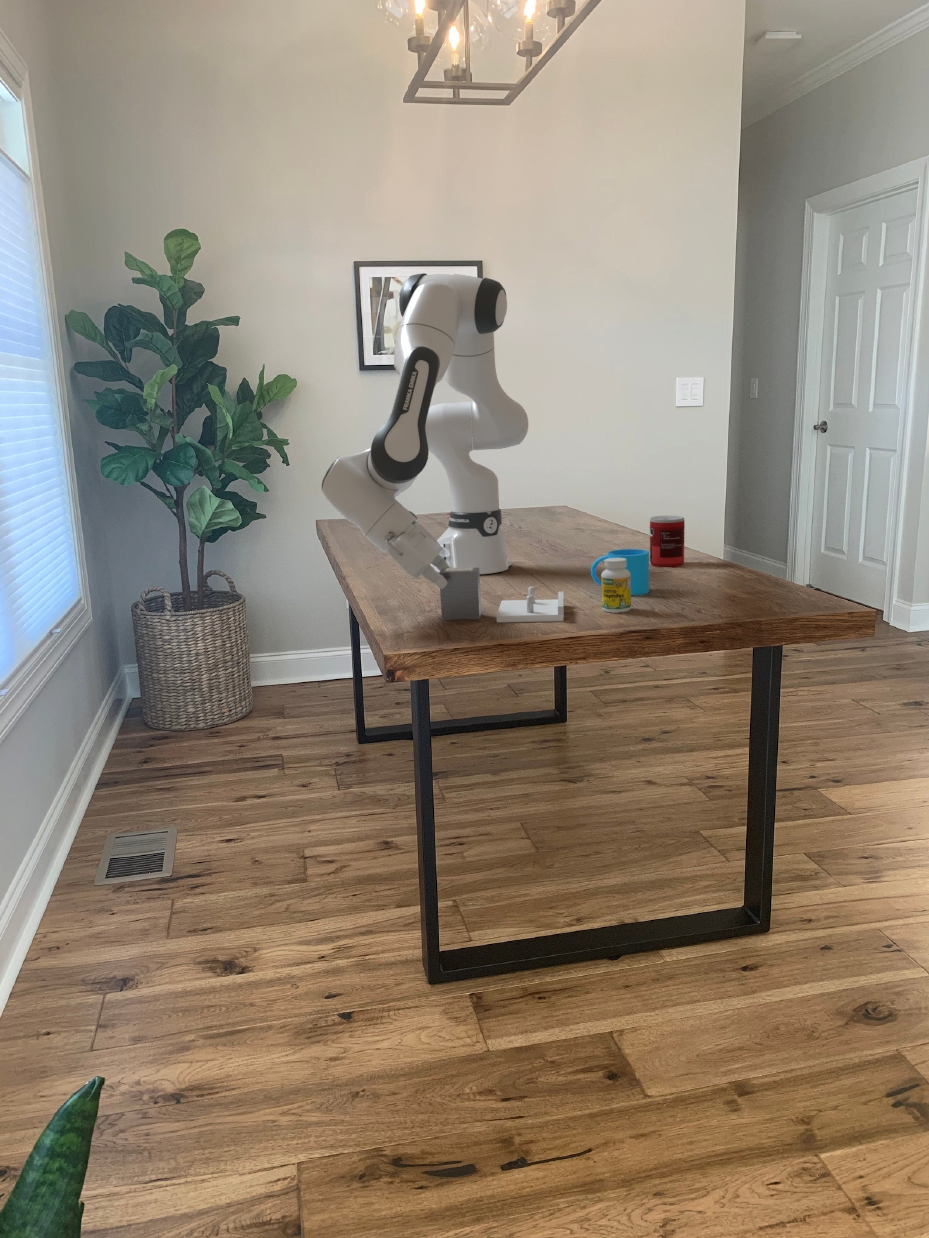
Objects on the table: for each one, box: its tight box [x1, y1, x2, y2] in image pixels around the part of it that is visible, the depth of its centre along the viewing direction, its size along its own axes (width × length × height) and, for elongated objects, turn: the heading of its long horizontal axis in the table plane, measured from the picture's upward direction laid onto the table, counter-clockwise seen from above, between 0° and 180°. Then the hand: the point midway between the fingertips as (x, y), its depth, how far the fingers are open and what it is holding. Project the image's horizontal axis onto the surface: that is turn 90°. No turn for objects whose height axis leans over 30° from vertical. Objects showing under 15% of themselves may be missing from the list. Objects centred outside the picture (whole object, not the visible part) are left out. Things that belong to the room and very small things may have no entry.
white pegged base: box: [496, 586, 565, 623], centre depth 172 cm, size 12×13×4 cm
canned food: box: [649, 515, 686, 568], centre depth 213 cm, size 8×8×11 cm
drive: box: [438, 567, 482, 621], centre depth 171 cm, size 7×4×9 cm, turn 84°
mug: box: [590, 548, 650, 596], centre depth 187 cm, size 12×8×8 cm
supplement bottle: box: [600, 558, 632, 614], centre depth 171 cm, size 5×5×10 cm
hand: (448, 580), depth 171 cm, fingers open, 8 cm apart
